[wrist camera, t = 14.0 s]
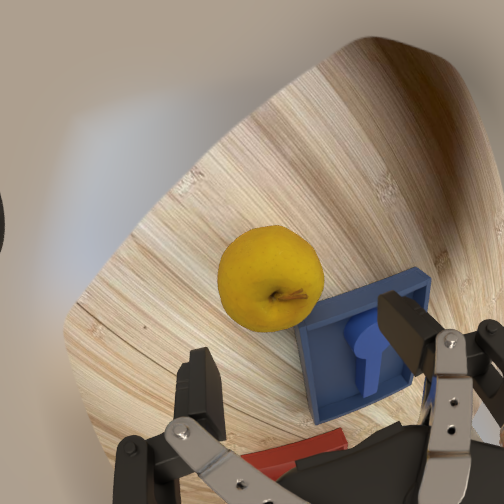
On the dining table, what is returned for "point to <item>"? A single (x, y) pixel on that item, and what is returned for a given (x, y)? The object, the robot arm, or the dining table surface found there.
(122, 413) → the dining table surface
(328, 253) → the dining table surface
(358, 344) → the spoon
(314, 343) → the blue tray
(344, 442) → the red tray
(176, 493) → the robot arm
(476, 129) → the dining table surface
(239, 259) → the apple
